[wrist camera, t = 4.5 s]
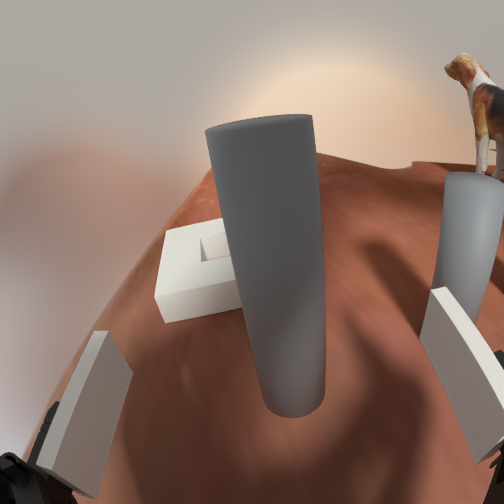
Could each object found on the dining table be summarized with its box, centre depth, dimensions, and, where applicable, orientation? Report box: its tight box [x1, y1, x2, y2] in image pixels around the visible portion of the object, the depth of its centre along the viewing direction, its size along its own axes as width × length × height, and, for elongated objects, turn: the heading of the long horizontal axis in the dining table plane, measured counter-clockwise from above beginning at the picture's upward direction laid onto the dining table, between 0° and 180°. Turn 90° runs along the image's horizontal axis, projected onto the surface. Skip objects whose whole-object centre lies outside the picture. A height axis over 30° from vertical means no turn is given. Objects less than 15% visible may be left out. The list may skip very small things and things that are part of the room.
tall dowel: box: [205, 114, 326, 418], centre depth 15 cm, size 4×4×16 cm
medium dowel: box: [431, 171, 504, 325], centre depth 17 cm, size 4×4×12 cm
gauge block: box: [154, 218, 242, 323], centre depth 33 cm, size 14×14×3 cm
